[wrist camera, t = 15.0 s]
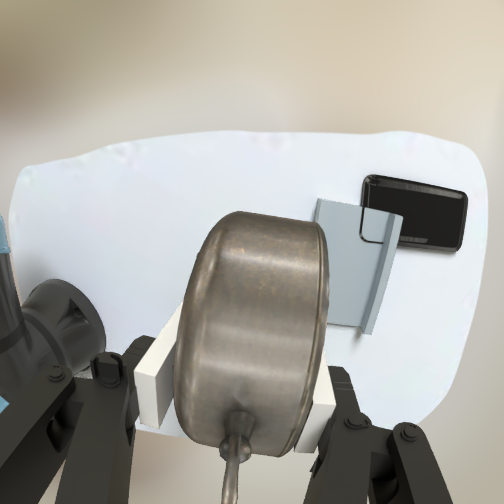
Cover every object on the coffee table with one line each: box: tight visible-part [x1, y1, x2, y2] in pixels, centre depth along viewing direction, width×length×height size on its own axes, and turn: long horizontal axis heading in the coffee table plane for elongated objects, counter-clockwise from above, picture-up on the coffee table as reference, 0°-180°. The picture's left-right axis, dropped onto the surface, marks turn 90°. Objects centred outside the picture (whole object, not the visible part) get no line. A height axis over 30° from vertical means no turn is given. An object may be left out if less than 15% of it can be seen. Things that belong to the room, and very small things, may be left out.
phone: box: [359, 175, 468, 252], centre depth 32 cm, size 8×1×15 cm
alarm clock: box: [172, 211, 330, 504], centre depth 12 cm, size 11×5×16 cm, turn 171°
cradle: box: [314, 198, 403, 335], centre depth 33 cm, size 10×14×2 cm, turn 171°
